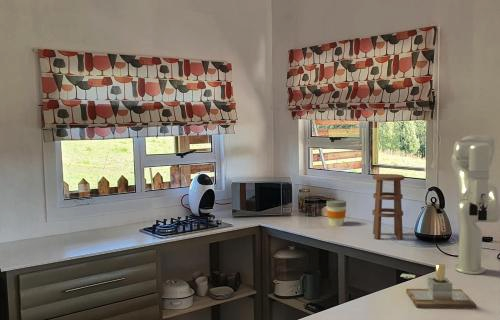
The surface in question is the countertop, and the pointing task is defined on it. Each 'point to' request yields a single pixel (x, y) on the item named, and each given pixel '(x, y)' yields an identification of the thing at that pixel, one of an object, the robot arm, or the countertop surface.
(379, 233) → the stool
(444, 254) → the countertop surface
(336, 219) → the reusable coffee cup
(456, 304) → the walnut board
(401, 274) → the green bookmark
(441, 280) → the hinge pin
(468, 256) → the robot arm
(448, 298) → the grey stepped block
